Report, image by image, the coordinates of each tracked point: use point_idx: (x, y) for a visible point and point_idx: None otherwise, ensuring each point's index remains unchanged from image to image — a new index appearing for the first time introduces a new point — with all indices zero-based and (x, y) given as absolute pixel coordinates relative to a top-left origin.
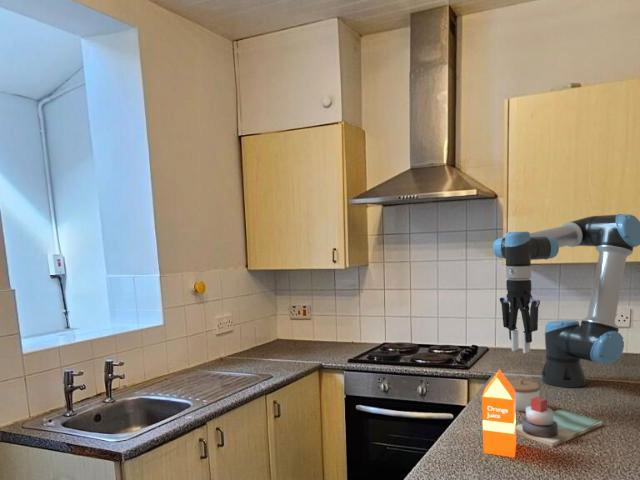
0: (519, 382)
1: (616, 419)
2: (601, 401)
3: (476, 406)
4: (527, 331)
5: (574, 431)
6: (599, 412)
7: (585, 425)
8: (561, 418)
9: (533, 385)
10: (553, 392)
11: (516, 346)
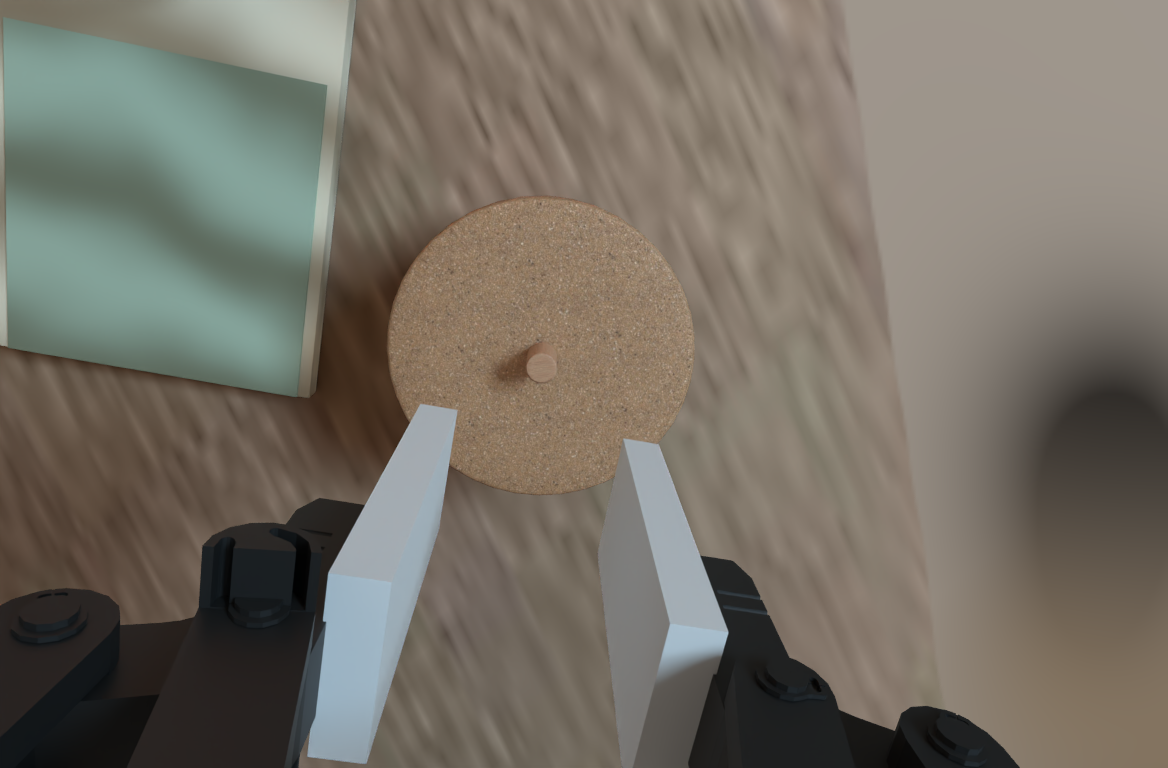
0: (574, 386)
1: (14, 500)
2: None
3: (821, 121)
4: (210, 583)
5: (14, 17)
6: (146, 556)
7: (21, 185)
8: (203, 214)
9: (439, 379)
10: (525, 734)
11: (611, 533)
